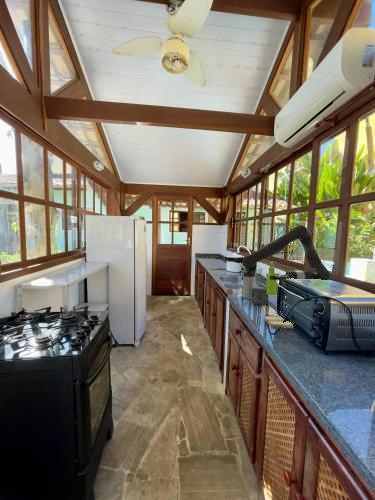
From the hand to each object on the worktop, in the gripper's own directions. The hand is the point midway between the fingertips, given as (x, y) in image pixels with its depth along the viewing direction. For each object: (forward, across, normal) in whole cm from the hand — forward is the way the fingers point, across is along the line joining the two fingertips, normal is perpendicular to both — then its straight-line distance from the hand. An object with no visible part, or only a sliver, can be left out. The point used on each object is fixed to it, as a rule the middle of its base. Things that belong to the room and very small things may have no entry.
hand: (268, 276), depth 139 cm
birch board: (-1, +16, +24) cm, 28 cm away
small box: (-2, -21, +24) cm, 32 cm away
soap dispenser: (-2, 0, +11) cm, 11 cm away
